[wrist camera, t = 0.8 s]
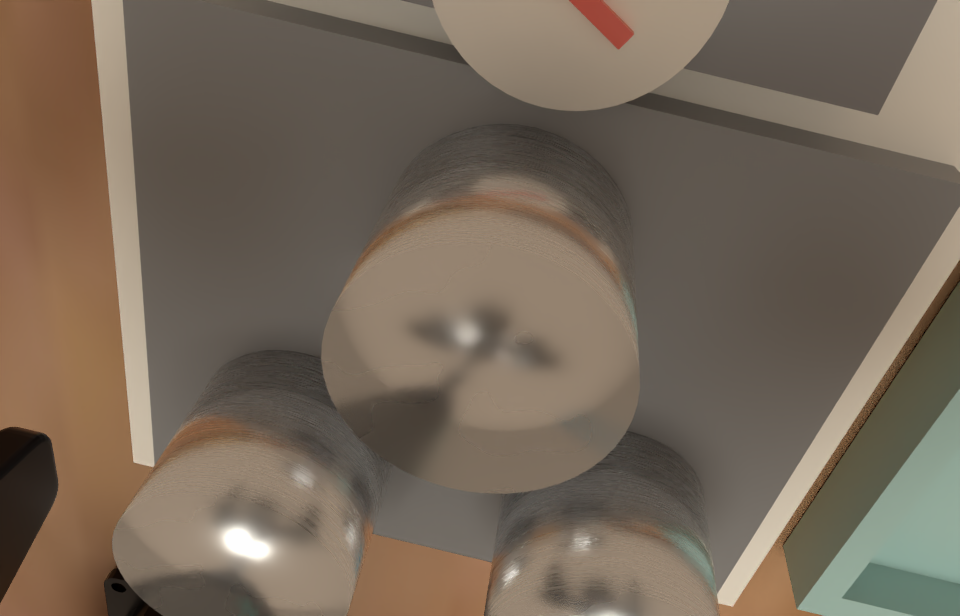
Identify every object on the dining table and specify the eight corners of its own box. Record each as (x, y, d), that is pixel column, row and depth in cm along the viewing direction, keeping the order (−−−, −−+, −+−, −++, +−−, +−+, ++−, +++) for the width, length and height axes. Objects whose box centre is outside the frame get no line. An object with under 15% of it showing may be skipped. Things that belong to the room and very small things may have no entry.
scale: (723, 544, 22) (740, 658, 19) (168, 411, 22) (104, 505, 19) (1113, -110, 13) (1260, -74, 10) (130, -348, 12) (-10, -379, 10)
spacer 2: (593, 363, 16) (589, 521, 12) (372, 310, 16) (310, 455, 12) (667, 159, 13) (687, 291, 10) (403, 95, 13) (335, 206, 10)
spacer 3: (666, 583, 19) (677, 752, 16) (485, 540, 19) (459, 699, 16) (735, 456, 17) (767, 626, 13) (527, 406, 17) (507, 564, 13)
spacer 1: (385, 516, 19) (338, 671, 16) (204, 472, 19) (120, 618, 16) (411, 378, 17) (362, 529, 13) (202, 328, 17) (101, 466, 13)
